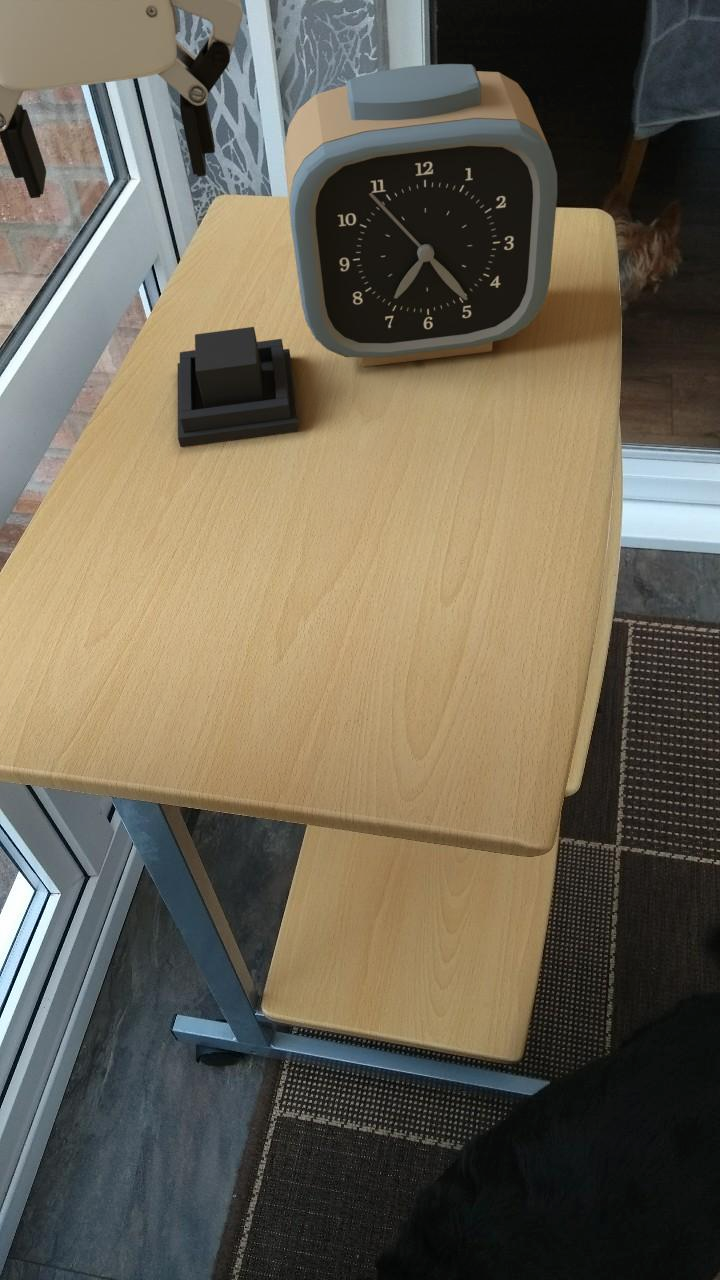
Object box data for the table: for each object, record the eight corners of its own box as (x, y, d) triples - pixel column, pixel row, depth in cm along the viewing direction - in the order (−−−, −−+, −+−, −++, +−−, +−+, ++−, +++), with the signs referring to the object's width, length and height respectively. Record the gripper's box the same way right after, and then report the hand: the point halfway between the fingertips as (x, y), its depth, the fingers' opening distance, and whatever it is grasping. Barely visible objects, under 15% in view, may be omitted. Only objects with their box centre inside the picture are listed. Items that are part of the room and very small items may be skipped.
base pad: (180, 447, 85) (173, 423, 83) (179, 372, 91) (173, 349, 89) (299, 431, 85) (295, 407, 83) (290, 357, 91) (287, 334, 89)
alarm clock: (312, 380, 89) (278, 133, 72) (305, 315, 95) (272, 72, 78) (545, 352, 89) (567, 98, 72) (524, 289, 95) (540, 40, 78)
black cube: (206, 414, 86) (195, 371, 82) (205, 377, 89) (194, 334, 85) (265, 407, 86) (256, 363, 82) (262, 370, 89) (253, 326, 85)
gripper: (207, -228, 49) (260, 127, 63) (-149, -184, 49) (-18, 163, 63) (210, -183, 45) (267, 189, 58) (-181, -134, 45) (-33, 228, 58)
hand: (119, 175), depth 61 cm, fingers open, 9 cm apart
